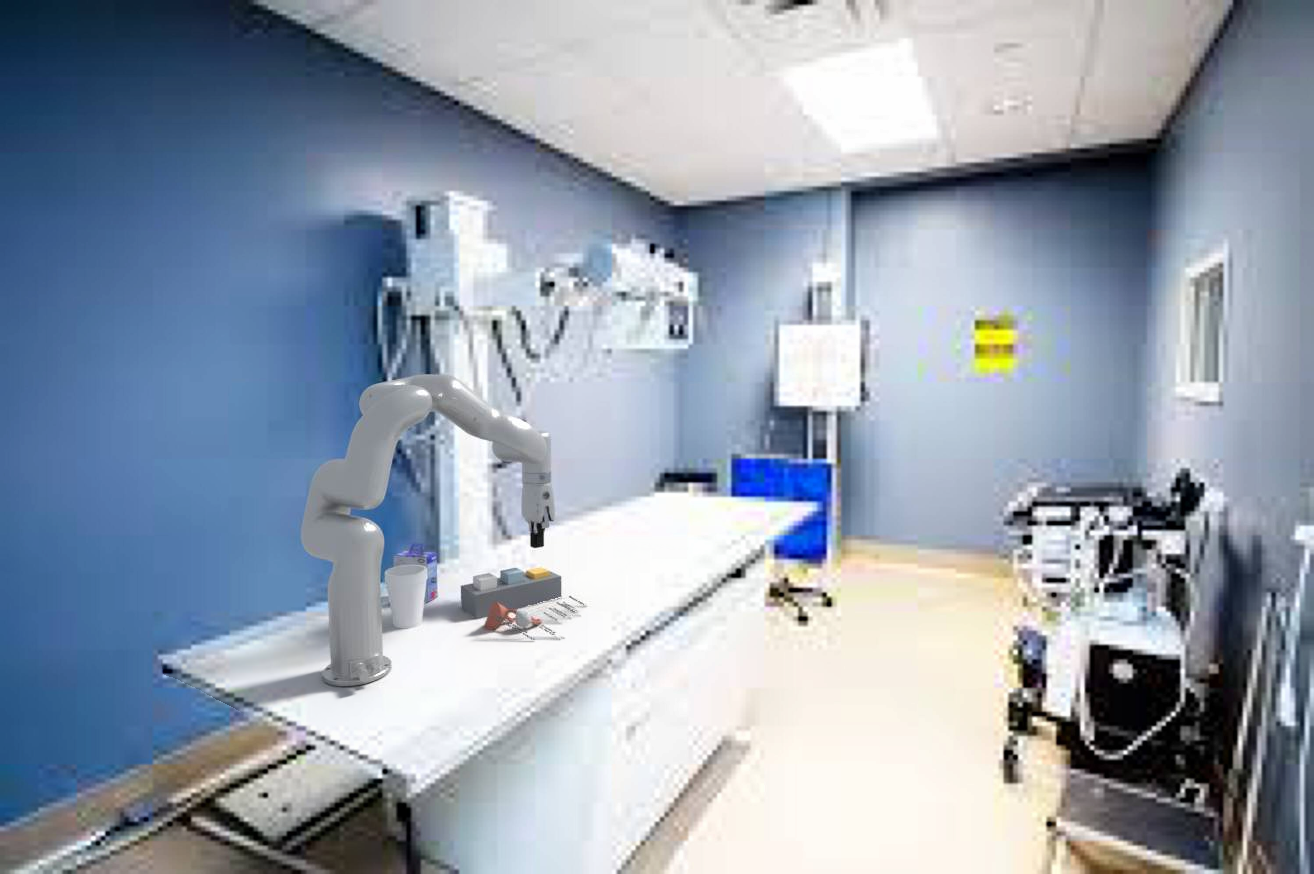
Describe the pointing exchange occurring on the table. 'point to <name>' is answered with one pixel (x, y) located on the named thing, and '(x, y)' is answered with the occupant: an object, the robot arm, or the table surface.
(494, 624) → the anatomical diagram
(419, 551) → the ink cartridge box
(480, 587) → the white cube
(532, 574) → the amber button
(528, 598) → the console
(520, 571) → the light blue cube
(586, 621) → the table surface
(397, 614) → the foam cup
